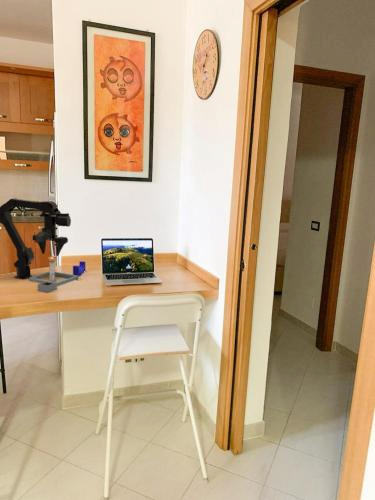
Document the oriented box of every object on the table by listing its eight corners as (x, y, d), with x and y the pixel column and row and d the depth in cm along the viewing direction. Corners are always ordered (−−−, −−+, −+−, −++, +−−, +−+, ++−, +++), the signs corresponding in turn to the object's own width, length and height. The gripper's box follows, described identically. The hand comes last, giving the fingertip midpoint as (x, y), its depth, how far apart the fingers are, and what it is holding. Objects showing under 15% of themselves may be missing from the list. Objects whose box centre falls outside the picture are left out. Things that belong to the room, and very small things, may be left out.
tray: (28, 283, 191) (28, 277, 190) (51, 276, 205) (50, 271, 205) (57, 289, 184) (57, 283, 184) (78, 281, 199) (78, 275, 198)
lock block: (37, 293, 176) (37, 284, 175) (46, 290, 182) (46, 281, 181) (48, 295, 174) (47, 286, 173) (56, 292, 180) (56, 283, 179)
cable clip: (77, 271, 219) (77, 261, 218) (85, 271, 219) (85, 261, 218) (70, 276, 208) (70, 265, 207) (78, 277, 208) (78, 266, 206)
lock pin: (46, 283, 190) (45, 257, 187) (51, 281, 193) (51, 256, 191) (52, 284, 188) (52, 258, 186) (58, 283, 192) (57, 257, 190)
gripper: (23, 225, 191) (25, 255, 194) (53, 229, 185) (54, 260, 188) (39, 223, 201) (40, 251, 205) (68, 226, 195) (68, 256, 198)
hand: (50, 254), depth 198 cm, fingers open, 9 cm apart
